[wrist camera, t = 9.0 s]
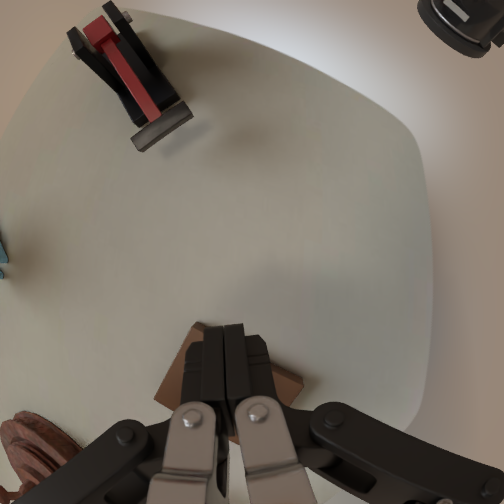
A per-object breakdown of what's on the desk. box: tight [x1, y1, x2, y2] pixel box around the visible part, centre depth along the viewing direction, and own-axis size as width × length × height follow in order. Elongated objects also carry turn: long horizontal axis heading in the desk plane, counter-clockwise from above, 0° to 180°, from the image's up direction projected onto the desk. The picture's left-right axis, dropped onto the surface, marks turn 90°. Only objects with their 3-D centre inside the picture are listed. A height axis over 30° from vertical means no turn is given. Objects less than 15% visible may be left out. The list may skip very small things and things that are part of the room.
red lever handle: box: [83, 15, 194, 152], centre depth 19 cm, size 14×5×2 cm, turn 33°
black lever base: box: [67, 0, 180, 128], centre depth 21 cm, size 14×6×10 cm, turn 33°
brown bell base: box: [154, 322, 304, 445], centre depth 23 cm, size 11×9×4 cm
